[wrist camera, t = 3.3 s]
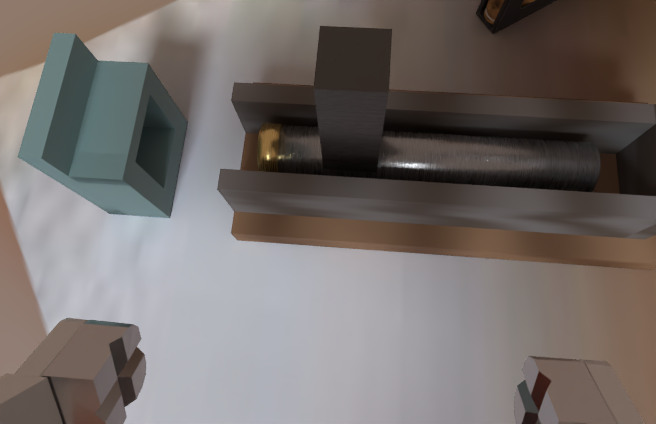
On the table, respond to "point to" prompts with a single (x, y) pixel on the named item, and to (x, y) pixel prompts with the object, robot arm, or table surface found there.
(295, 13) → the table surface
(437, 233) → the channel tray
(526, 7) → the ammunition clip
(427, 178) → the tube
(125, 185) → the socket block
